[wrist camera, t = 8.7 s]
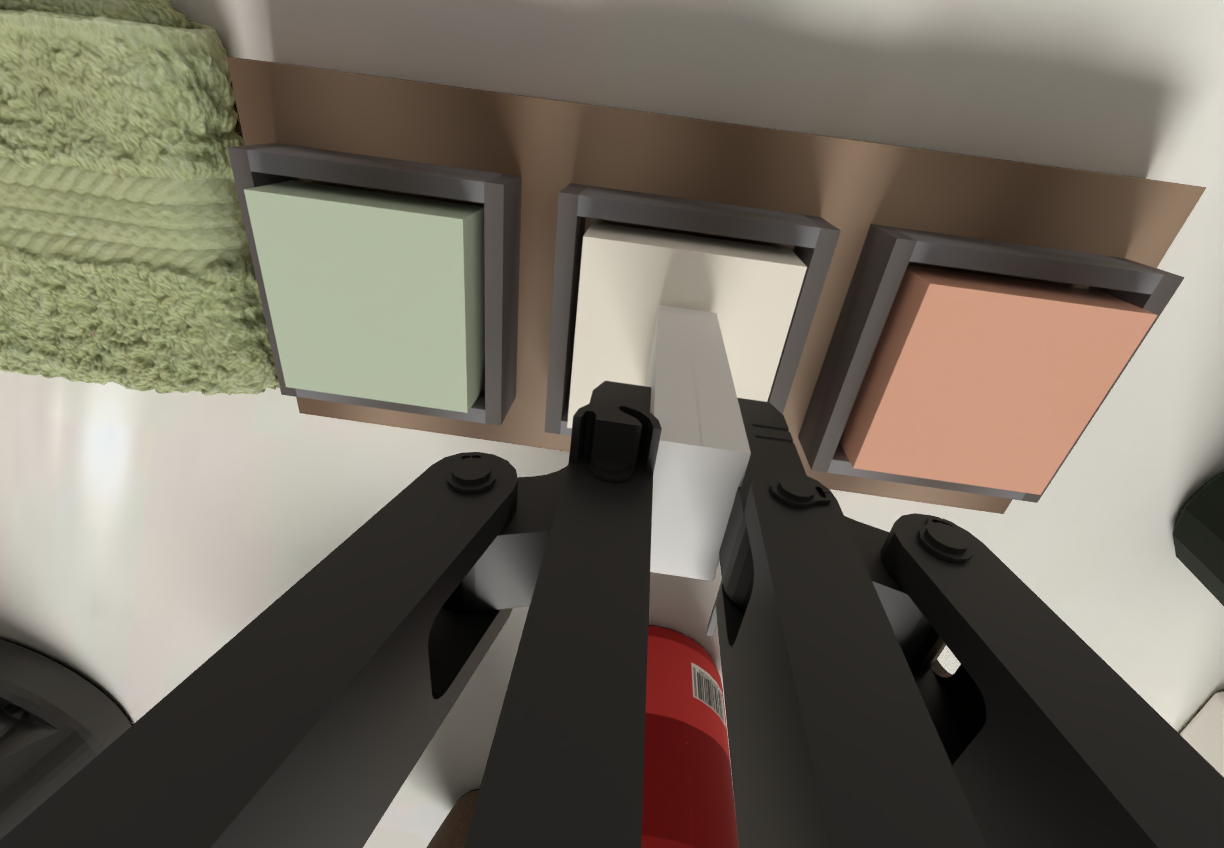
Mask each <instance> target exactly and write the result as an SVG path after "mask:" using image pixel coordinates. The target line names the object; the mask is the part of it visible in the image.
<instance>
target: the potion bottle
mask: <svg viewBox="0 0 1224 848" xmlns="http://www.w3.org/2000/svg"><path fill="white" fill-rule="evenodd" d="M1173 539H1174V545H1175V552H1176V557H1177V558H1178V559H1179V560H1180V561H1181V562H1182V563H1183V564H1184V565H1185V566H1186V567H1187V568H1188V569H1189V570H1190V571H1191V572H1192V573H1193V574H1194V575H1195V576H1196V577H1197V578H1198V580H1199V581H1200V582H1201V583H1202V584H1203V585H1204V586H1205V587H1206V588H1207V589H1208V590H1209V591H1210V592H1211V593H1212V594H1213V595H1214V596H1215V597H1216V598H1217V599H1218V600H1219V602H1220V603H1221V604H1222V605H1223V606H1224V472H1223V473H1222V474H1220V475H1218V476H1216V477H1215V478H1213V479H1211V480H1209V481H1208V482H1207V483H1206V484H1205V485H1204V486H1203V487H1202V488H1201V489H1200V490H1199V491H1198V492H1197V493H1196V494H1195V495H1194V496H1193V497H1192V498H1191V499H1190V500H1189V501H1188V502H1187V503H1185V505H1184V507H1183V509H1182V511H1181V514H1180V516H1179V518H1178V520H1177V522H1176V524H1175V526H1174V531H1173Z"/></svg>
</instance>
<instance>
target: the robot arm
mask: <svg viewBox="0 0 1224 848" xmlns="http://www.w3.org/2000/svg"><path fill="white" fill-rule="evenodd" d="M719 560H720V565H721V574H722V581H721V584H720V588H719V591H718V594H717V597H716V601H715V604H714V607H713V610H712V614H711V617H710V620H709V624H708V628H707V634H706V635H707V636H713V634H714V631H715V628H716V625H718V635H719V645H720V656H721V666H722V677H723V687H724V698H725V708H726V718H727V729H728V739H729V750H730V760H731V771H732V781H733V792H734V802H735V812H736V823H737V833H738V844H739V848H1224V777H1223V776H1222V775H1221V774H1220V773H1219V772H1218V771H1217V770H1216V769H1215V768H1214V767H1213V766H1212V765H1211V764H1210V763H1209V762H1208V761H1206V760H1205V759H1204V758H1203V757H1202V756H1201V755H1200V754H1199V753H1198V752H1197V751H1196V750H1195V749H1194V748H1193V747H1192V746H1191V745H1190V744H1189V743H1188V742H1187V741H1186V740H1185V739H1184V738H1183V737H1182V736H1181V735H1180V734H1179V733H1178V732H1177V731H1176V730H1175V729H1174V728H1173V727H1172V726H1170V725H1169V724H1168V723H1167V722H1166V721H1165V720H1164V719H1163V718H1162V717H1161V716H1160V715H1159V714H1158V713H1157V712H1156V711H1155V710H1154V709H1153V708H1152V707H1151V706H1150V705H1149V704H1148V703H1147V702H1146V701H1145V700H1144V699H1143V698H1142V697H1141V696H1140V695H1139V694H1138V693H1137V692H1136V691H1134V690H1133V689H1132V688H1131V687H1130V686H1129V685H1128V684H1127V683H1126V682H1125V681H1124V680H1123V679H1122V678H1121V677H1120V676H1119V675H1118V674H1117V673H1116V672H1115V671H1114V670H1113V669H1112V668H1111V667H1110V666H1109V665H1108V664H1107V663H1106V662H1105V661H1104V660H1103V659H1102V658H1101V657H1100V656H1098V655H1097V654H1096V653H1095V652H1094V651H1093V650H1092V649H1091V648H1090V647H1089V646H1088V645H1087V644H1086V643H1085V642H1084V641H1083V640H1082V639H1081V638H1080V637H1079V636H1078V635H1077V634H1076V633H1075V632H1074V631H1073V630H1072V629H1071V628H1070V627H1069V626H1068V625H1067V624H1066V623H1065V622H1064V621H1062V620H1061V619H1060V618H1059V617H1058V616H1057V615H1056V614H1055V613H1054V612H1053V611H1052V610H1051V609H1050V608H1049V607H1048V606H1047V605H1046V604H1045V603H1044V602H1043V601H1042V600H1041V599H1040V598H1039V597H1038V596H1037V595H1036V594H1035V593H1034V592H1033V591H1032V590H1031V589H1030V588H1029V587H1028V586H1026V585H1025V584H1024V583H1023V582H1022V581H1021V580H1020V579H1019V578H1018V577H1017V576H1016V575H1015V574H1014V573H1013V572H1012V571H1011V570H1010V569H1009V568H1008V567H1007V566H1006V565H1005V564H1004V563H1003V562H1002V561H1001V560H1000V559H999V558H998V557H997V556H996V555H995V554H994V553H993V552H992V551H990V550H989V549H988V548H987V547H986V546H985V545H984V544H983V543H982V542H981V541H980V540H978V539H977V538H976V537H974V536H973V535H972V534H971V533H969V532H968V531H966V530H964V529H963V528H961V527H959V526H957V525H955V524H954V523H952V522H950V521H948V520H945V519H941V518H939V517H935V516H931V515H923V514H909V515H904V516H901V517H900V518H899V519H898V520H897V521H896V522H895V523H894V525H893V527H892V529H891V531H890V533H889V532H887V531H884V530H881V529H878V528H875V527H872V526H869V525H866V524H863V523H861V522H858V521H855V520H853V519H850V518H848V517H846V516H844V515H843V513H842V511H841V508H840V506H839V504H838V501H837V500H836V498H835V497H834V495H833V494H832V493H831V491H830V490H829V489H828V488H826V487H825V486H824V485H822V484H821V483H820V482H819V481H817V480H815V479H813V478H811V477H808V476H807V475H806V473H805V470H804V467H803V465H802V462H801V459H800V457H799V454H798V452H797V449H796V446H795V444H794V443H793V439H792V436H791V433H790V432H789V428H788V425H787V423H786V420H785V418H784V415H783V414H782V413H780V412H779V411H778V410H777V409H776V408H775V407H774V406H773V405H772V404H771V403H770V402H764V401H757V400H750V399H743V398H737V395H736V391H735V387H734V382H733V378H732V374H731V370H730V366H729V362H728V358H727V354H726V350H725V346H724V342H723V338H722V334H721V329H720V325H719V321H718V317H717V313H713V312H706V311H699V310H691V309H684V308H677V307H670V306H663V305H658V311H657V317H656V324H655V330H654V336H653V342H652V348H651V354H650V360H649V366H648V373H647V379H646V385H645V386H640V385H633V384H626V383H618V382H611V381H604V382H603V383H602V384H600V385H599V386H598V387H596V388H595V389H594V390H593V392H592V395H591V399H590V403H589V404H587V405H585V406H583V407H581V408H579V409H578V410H577V412H576V413H575V414H574V416H573V423H572V434H571V445H570V456H569V464H568V466H567V467H565V468H563V469H561V470H559V471H557V472H554V473H551V474H548V475H542V476H534V477H519V478H517V473H516V469H515V468H514V467H513V466H512V465H511V464H510V463H509V462H508V461H507V460H504V459H502V458H500V457H498V456H496V455H492V454H486V453H480V452H471V453H470V452H469V453H459V454H456V455H452V456H448V457H445V458H443V459H441V460H440V461H438V462H436V463H435V464H433V465H432V466H430V467H429V468H428V469H427V470H426V471H425V472H424V473H422V474H421V475H420V476H419V477H418V478H417V479H415V480H414V481H413V482H412V483H411V484H410V485H409V486H407V487H406V488H405V489H404V490H403V491H402V492H401V493H399V494H398V495H397V496H396V497H395V498H394V499H392V500H391V501H390V502H389V503H388V504H387V505H386V506H384V507H383V508H382V509H381V510H380V511H379V512H377V513H376V514H375V515H374V516H373V517H372V518H371V519H369V520H368V521H367V522H366V523H365V524H364V525H363V526H361V527H360V528H359V529H358V530H357V531H356V532H354V533H353V534H352V535H351V536H350V537H349V538H348V539H346V540H345V541H344V542H343V543H342V544H341V545H339V546H338V547H337V548H336V549H335V550H334V551H333V552H331V553H330V554H329V555H328V556H327V557H326V558H325V559H323V560H322V561H321V562H320V563H319V564H318V565H316V566H315V567H314V568H313V569H312V570H311V571H310V572H308V573H307V574H306V575H305V576H304V577H303V578H301V579H300V580H299V581H298V582H297V583H296V584H295V585H293V586H292V587H291V588H290V589H289V590H288V591H286V592H285V593H284V594H283V595H282V596H281V597H280V598H278V599H277V600H276V601H275V602H274V603H273V604H272V605H270V606H269V607H268V608H267V609H266V610H265V611H263V612H262V613H261V614H260V615H259V616H258V617H257V618H255V619H254V620H253V621H252V622H251V623H250V624H248V625H247V626H246V627H245V628H244V629H243V630H242V631H240V632H239V633H238V634H237V635H236V636H235V637H234V638H232V639H231V640H230V641H229V642H228V643H227V644H225V645H224V646H223V647H222V648H221V649H220V650H219V651H217V652H216V653H215V654H214V655H213V656H212V657H210V658H209V659H208V660H207V661H206V662H205V663H204V664H202V665H201V666H200V667H199V668H198V669H197V670H195V671H194V672H193V673H192V674H191V675H190V676H189V677H187V678H186V679H185V680H184V681H183V682H182V683H181V684H179V685H178V686H177V687H176V688H175V689H174V690H172V691H171V692H170V693H169V694H168V695H167V696H166V697H164V698H163V699H162V700H161V701H160V702H159V703H157V704H156V705H155V706H154V707H153V708H152V709H151V710H149V711H148V712H147V713H146V714H145V715H144V716H143V717H141V718H140V719H139V720H138V721H137V722H136V723H134V724H133V725H132V726H131V724H130V722H129V721H128V719H127V718H126V716H125V715H124V714H123V712H122V711H121V710H120V709H119V708H118V707H117V706H116V705H115V703H114V702H113V701H111V700H110V699H109V698H108V697H107V696H106V695H105V694H104V693H102V692H101V691H100V690H99V689H97V688H96V687H95V686H94V685H92V684H91V683H89V682H88V681H87V680H85V679H84V678H82V677H80V676H79V675H77V674H76V673H74V672H72V671H71V670H69V669H67V668H66V667H64V666H62V665H60V664H58V663H56V662H55V661H53V660H51V659H49V658H46V657H44V656H42V655H40V654H38V653H36V652H33V651H31V650H29V649H26V648H24V647H21V646H18V645H16V644H13V643H10V642H7V641H4V640H1V639H0V848H363V846H364V845H365V843H366V841H367V840H368V838H369V837H370V835H371V834H372V832H373V830H374V829H375V827H376V826H377V824H378V823H379V821H380V819H381V818H382V816H383V815H384V813H385V812H386V810H387V808H388V807H389V805H390V804H391V802H392V801H393V799H394V797H395V796H396V794H397V793H398V791H399V789H400V788H401V786H402V785H403V783H404V782H405V780H406V778H407V777H408V775H409V774H410V772H411V771H412V769H413V767H414V766H415V764H416V763H417V761H418V760H419V758H420V756H421V755H422V753H423V752H424V750H425V749H426V747H427V745H428V744H429V742H430V741H431V739H432V738H433V736H434V734H435V733H436V731H437V730H438V728H439V726H440V725H441V723H442V722H443V720H444V719H445V717H446V715H447V714H448V712H449V711H450V709H451V708H452V706H453V704H454V703H455V701H456V700H457V698H458V697H459V695H460V693H461V692H462V690H463V689H464V687H465V686H466V684H467V682H468V681H469V679H470V678H471V676H472V674H473V673H474V671H475V670H476V668H477V667H478V665H479V663H480V662H481V660H482V659H483V657H484V656H485V654H486V652H487V651H488V649H489V648H490V646H491V645H492V643H493V641H494V640H495V638H496V637H497V635H498V634H499V632H500V630H501V629H502V627H503V626H504V624H505V623H506V621H507V619H508V618H509V616H510V613H511V611H512V608H514V607H522V606H530V607H529V611H528V614H527V618H526V622H525V625H524V629H523V633H522V636H521V640H520V644H519V647H518V651H517V655H516V658H515V662H514V666H513V669H512V673H511V677H510V680H509V684H508V688H507V692H506V695H505V699H504V703H503V706H502V710H501V714H500V717H499V721H498V725H497V728H496V732H495V736H494V739H493V743H492V747H491V750H490V754H489V758H488V761H487V765H486V769H485V772H484V776H483V780H482V783H481V787H480V791H479V794H478V798H477V802H476V805H475V809H474V813H473V816H472V820H471V824H470V827H469V831H468V835H467V838H466V842H465V846H464V848H641V841H642V810H643V778H644V747H645V716H646V685H647V654H648V623H649V592H650V572H654V573H661V574H668V575H675V576H681V577H688V578H695V579H701V580H708V581H713V580H714V577H715V574H716V570H717V567H718V563H719ZM946 645H947V646H948V648H949V649H950V650H951V651H952V653H953V654H954V655H955V657H956V658H957V659H958V660H959V662H960V663H961V665H960V666H959V668H958V669H957V671H956V672H955V674H953V675H952V674H950V673H948V672H947V671H946V670H945V669H944V668H943V667H942V666H941V664H940V663H939V662H938V660H937V658H938V656H939V655H940V653H941V652H942V650H943V649H944V647H945V646H946Z"/></svg>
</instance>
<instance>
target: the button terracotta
mask: <svg viewBox="0 0 1224 848" xmlns="http://www.w3.org/2000/svg"><path fill="white" fill-rule="evenodd" d="M1157 316H1158V315H1157V314H1154V313H1152V312H1150V311H1147V310H1145V309H1142V308H1140V307H1138V306H1135V305H1133V304H1130V303H1128V302H1125V301H1123V300H1121V299H1118V298H1116V297H1113V296H1111V295H1109V294H1106V293H1104V292H1101V291H1096V290H1089V289H1082V288H1074V287H1067V286H1060V285H1052V284H1045V283H1038V282H1030V281H1023V280H1016V279H1008V278H1001V277H994V276H987V275H979V274H972V273H965V272H957V271H950V270H943V269H935V268H928V267H921V266H914V265H908V266H907V268H906V271H905V273H904V276H903V279H902V281H901V284H900V286H899V289H898V291H897V294H896V297H895V299H894V302H893V304H892V307H891V309H890V312H889V315H888V317H887V320H886V322H885V325H884V327H883V330H882V333H881V335H880V338H879V340H878V343H877V345H876V348H875V351H874V353H873V356H872V358H871V361H870V363H869V366H868V369H867V371H866V374H865V376H864V379H863V381H862V384H861V387H860V389H859V392H858V394H857V397H856V399H855V402H854V405H853V407H852V410H851V412H850V415H849V417H848V420H847V423H846V425H845V428H844V430H843V433H842V435H841V438H840V441H839V442H840V444H841V446H842V448H843V450H844V452H845V454H846V456H847V458H848V459H849V461H850V463H851V465H852V467H853V468H856V469H863V470H870V471H877V472H884V473H891V474H898V475H905V476H912V477H919V478H926V479H933V480H940V481H947V482H954V483H961V484H968V485H975V486H982V487H989V488H996V489H1003V490H1010V491H1017V492H1024V493H1031V494H1038V495H1041V493H1042V492H1043V490H1044V489H1045V487H1046V486H1047V484H1048V483H1049V481H1050V480H1051V478H1052V477H1053V475H1054V474H1055V472H1056V470H1057V469H1058V467H1059V466H1060V464H1061V463H1062V461H1063V460H1064V458H1065V457H1066V455H1067V454H1068V452H1069V451H1070V449H1071V447H1072V446H1073V444H1074V443H1075V441H1076V440H1077V438H1078V437H1079V435H1080V434H1081V432H1082V431H1083V429H1084V428H1085V426H1086V424H1087V423H1088V421H1089V420H1090V418H1091V417H1092V415H1093V414H1094V412H1095V411H1096V409H1097V408H1098V406H1099V404H1100V403H1101V401H1102V400H1103V398H1104V397H1105V395H1106V394H1107V392H1108V391H1109V389H1110V388H1111V386H1112V385H1113V383H1114V381H1115V380H1116V378H1117V377H1118V375H1119V374H1120V372H1121V371H1122V369H1123V368H1124V366H1125V365H1126V363H1127V362H1128V360H1129V358H1130V357H1131V355H1132V354H1133V352H1134V351H1135V349H1136V348H1137V346H1138V345H1139V343H1140V342H1141V340H1142V339H1143V337H1144V335H1145V334H1146V332H1147V331H1148V329H1149V328H1150V326H1151V325H1152V323H1153V322H1154V320H1155V319H1156V317H1157Z"/></svg>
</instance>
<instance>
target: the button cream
mask: <svg viewBox="0 0 1224 848" xmlns="http://www.w3.org/2000/svg"><path fill="white" fill-rule="evenodd" d="M806 269H807V266H806V265H805V264H804V263H803V262H802V261H801V260H800V259H799V258H798V256H797V255H796V254H795V253H794V252H793V251H792V250H791V249H788V248H781V247H773V246H766V245H759V244H751V243H744V242H737V241H730V240H722V239H715V238H708V237H700V236H693V235H686V234H678V233H671V232H664V231H656V230H649V229H642V228H635V227H627V226H620V225H613V224H605V223H598V222H592V224H591V225H590V227H589V228H588V230H587V231H586V233H585V234H584V236H583V245H582V257H581V269H580V280H579V292H578V304H577V316H576V328H575V340H574V351H573V363H572V375H571V387H570V399H569V410H568V422H567V428H572V423H573V416H574V414H575V413H576V412H577V410H578V409H579V408H581V407H583V406H585V405H587V404H589V403H590V399H591V395H592V392H593V390H594V389H595V388H596V387H598V386H599V385H600V384H602V383H603V382H604V381H611V382H618V383H626V384H633V385H640V386H645V385H646V379H647V373H648V366H649V360H650V354H651V348H652V342H653V336H654V330H655V324H656V317H657V311H658V305H663V306H670V307H677V308H684V309H691V310H699V311H706V312H713V313H717V317H718V321H719V325H720V329H721V334H722V338H723V342H724V346H725V350H726V354H727V358H728V362H729V366H730V370H731V374H732V378H733V382H734V387H735V391H736V395H737V398H743V399H750V400H757V401H764V402H767V401H768V397H769V394H770V391H771V387H772V384H773V381H774V377H775V374H776V370H777V367H778V364H779V360H780V357H781V354H782V350H783V347H784V343H785V340H786V337H787V333H788V330H789V326H790V323H791V320H792V316H793V313H794V310H795V306H796V303H797V299H798V296H799V293H800V289H801V286H802V282H803V279H804V276H805V272H806Z"/></svg>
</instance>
